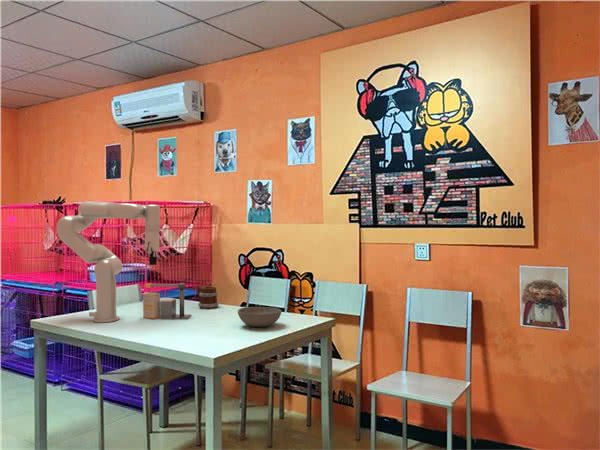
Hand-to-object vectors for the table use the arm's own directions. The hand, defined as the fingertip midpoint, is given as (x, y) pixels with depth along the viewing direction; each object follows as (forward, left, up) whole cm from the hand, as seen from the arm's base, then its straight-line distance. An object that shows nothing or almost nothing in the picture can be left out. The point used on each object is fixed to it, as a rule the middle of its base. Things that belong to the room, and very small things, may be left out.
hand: (152, 264), depth 246 cm
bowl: (+56, -12, -29) cm, 64 cm away
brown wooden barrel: (+19, +38, -29) cm, 51 cm away
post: (+13, +7, -29) cm, 32 cm away
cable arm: (+4, +7, -12) cm, 15 cm away
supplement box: (-3, +7, -29) cm, 30 cm away
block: (+5, +8, -29) cm, 30 cm away
